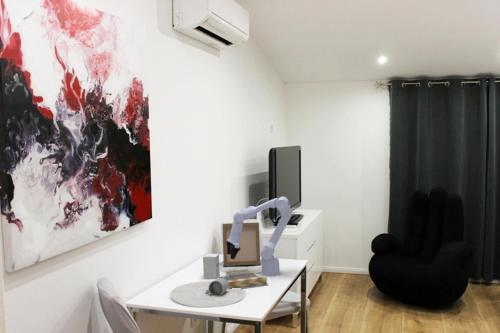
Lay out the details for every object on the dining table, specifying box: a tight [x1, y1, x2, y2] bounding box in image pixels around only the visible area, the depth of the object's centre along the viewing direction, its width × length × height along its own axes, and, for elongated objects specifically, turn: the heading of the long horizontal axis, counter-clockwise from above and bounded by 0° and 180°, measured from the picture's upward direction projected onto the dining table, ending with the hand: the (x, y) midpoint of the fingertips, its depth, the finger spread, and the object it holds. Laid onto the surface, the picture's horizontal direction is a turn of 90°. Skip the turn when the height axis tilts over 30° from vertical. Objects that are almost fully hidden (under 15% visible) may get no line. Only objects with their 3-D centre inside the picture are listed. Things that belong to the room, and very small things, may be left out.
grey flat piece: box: [225, 268, 252, 280], centre depth 257 cm, size 12×8×3 cm, turn 107°
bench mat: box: [217, 272, 269, 290], centre depth 250 cm, size 20×26×1 cm
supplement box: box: [202, 253, 221, 280], centre depth 261 cm, size 7×7×13 cm
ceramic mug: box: [205, 278, 229, 297], centre depth 232 cm, size 11×8×8 cm
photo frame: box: [222, 222, 261, 267], centre depth 289 cm, size 15×22×25 cm
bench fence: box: [227, 274, 268, 290], centre depth 243 cm, size 20×5×4 cm, turn 107°
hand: (230, 256), depth 265 cm, fingers open, 7 cm apart
